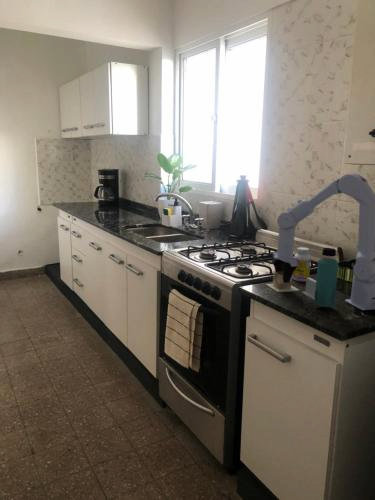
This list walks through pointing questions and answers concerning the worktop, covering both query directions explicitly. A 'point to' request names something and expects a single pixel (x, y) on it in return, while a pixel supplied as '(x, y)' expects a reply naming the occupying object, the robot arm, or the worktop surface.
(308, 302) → the worktop surface
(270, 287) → the tile
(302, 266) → the supplement bottle
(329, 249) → the beverage bottle
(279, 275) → the letter cube
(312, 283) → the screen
